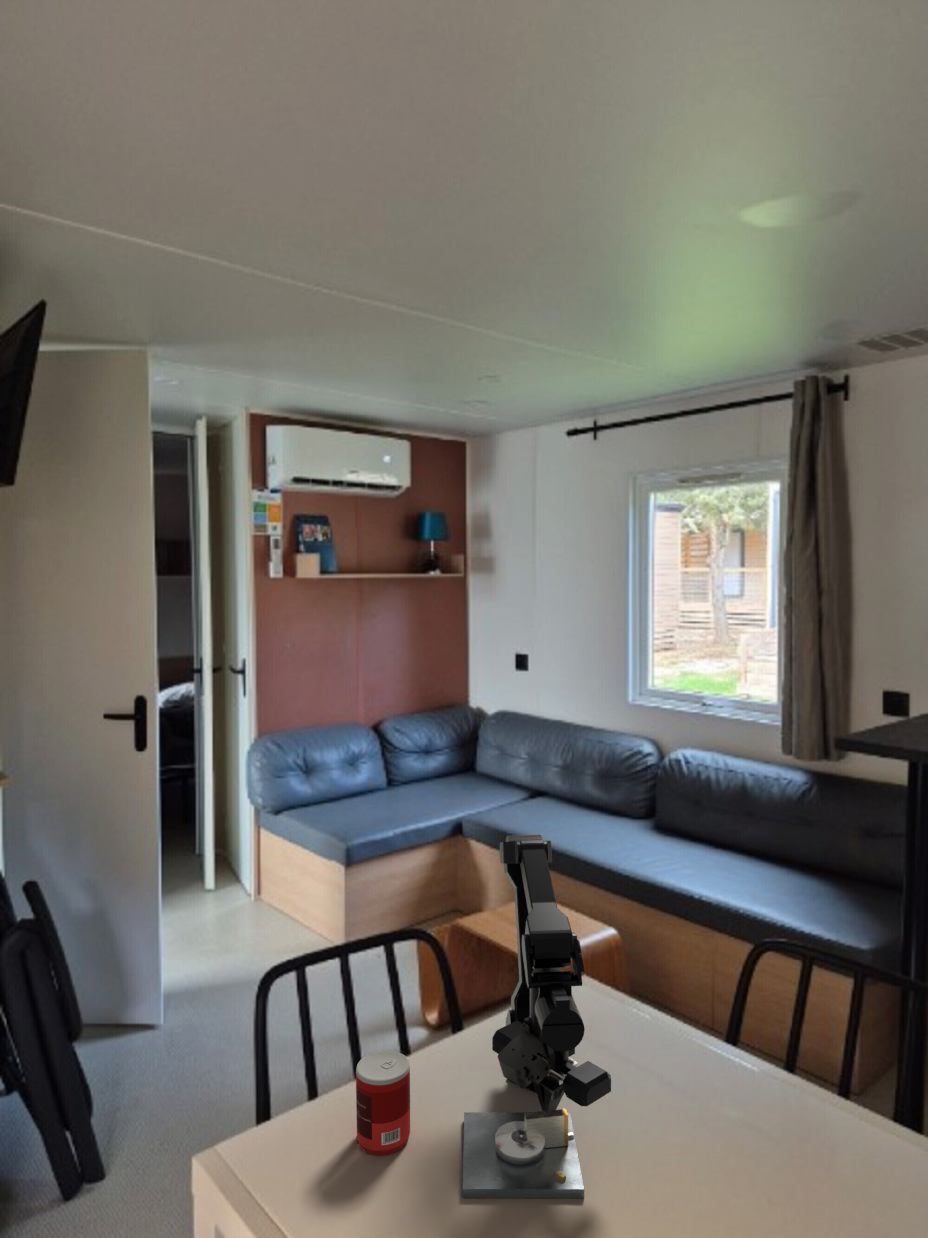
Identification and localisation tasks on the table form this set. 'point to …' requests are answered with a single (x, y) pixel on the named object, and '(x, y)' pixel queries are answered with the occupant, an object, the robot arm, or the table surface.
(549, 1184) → the panel
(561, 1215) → the table surface
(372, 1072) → the canned food
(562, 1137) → the dial
